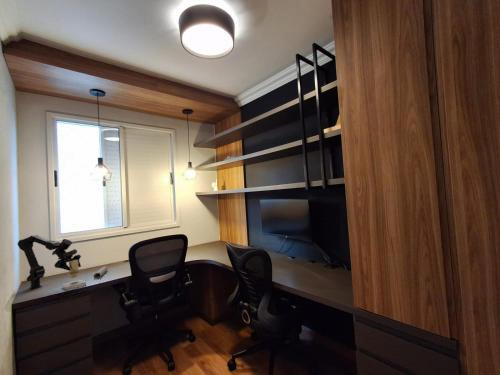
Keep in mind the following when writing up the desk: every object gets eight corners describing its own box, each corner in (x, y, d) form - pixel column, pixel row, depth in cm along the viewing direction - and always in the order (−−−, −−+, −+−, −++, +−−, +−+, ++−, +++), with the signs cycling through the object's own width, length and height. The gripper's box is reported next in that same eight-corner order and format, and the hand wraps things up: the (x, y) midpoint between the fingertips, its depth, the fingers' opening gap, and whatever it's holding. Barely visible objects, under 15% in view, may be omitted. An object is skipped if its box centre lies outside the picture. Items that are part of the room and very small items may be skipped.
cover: (67, 277, 181) (66, 261, 182) (77, 275, 186) (77, 259, 187) (70, 278, 177) (69, 262, 178) (80, 276, 182) (80, 260, 183)
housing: (61, 287, 180) (61, 284, 180) (80, 282, 190) (80, 279, 190) (67, 290, 173) (67, 287, 173) (86, 285, 182) (86, 282, 183)
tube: (100, 267, 221) (92, 274, 198) (107, 264, 223) (99, 271, 199) (103, 272, 222) (94, 280, 198) (109, 269, 223) (101, 277, 200)
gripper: (57, 249, 174) (71, 264, 172) (78, 244, 193) (91, 257, 191) (48, 260, 175) (61, 275, 173) (70, 254, 193) (82, 268, 191)
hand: (75, 268), depth 182 cm, fingers open, 9 cm apart
